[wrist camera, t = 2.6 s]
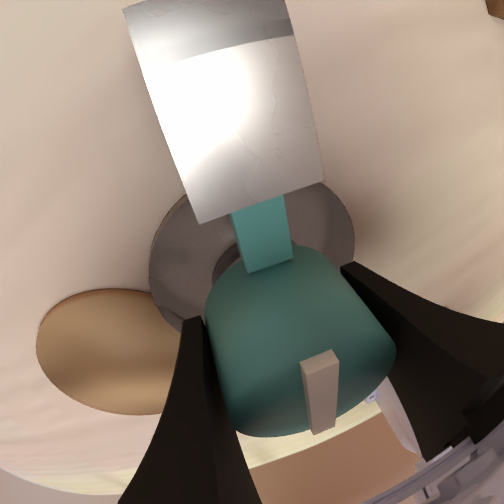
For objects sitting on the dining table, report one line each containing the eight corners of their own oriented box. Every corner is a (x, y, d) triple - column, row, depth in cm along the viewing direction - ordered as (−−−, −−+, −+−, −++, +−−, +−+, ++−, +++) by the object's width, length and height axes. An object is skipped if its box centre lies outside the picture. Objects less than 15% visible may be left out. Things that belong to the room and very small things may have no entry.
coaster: (241, 381, 17) (243, 388, 17) (106, 418, 17) (107, 425, 16) (172, 256, 12) (172, 264, 11) (4, 325, 11) (1, 333, 10)
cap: (338, 325, 13) (388, 403, 9) (226, 366, 12) (253, 459, 9) (319, 77, 7) (444, 96, 3) (124, 126, 6) (76, 183, 3)
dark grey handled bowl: (351, 298, 16) (405, 373, 12) (197, 359, 15) (217, 452, 11) (309, 11, 8) (421, -18, 3) (54, 91, 7) (-42, 114, 3)
